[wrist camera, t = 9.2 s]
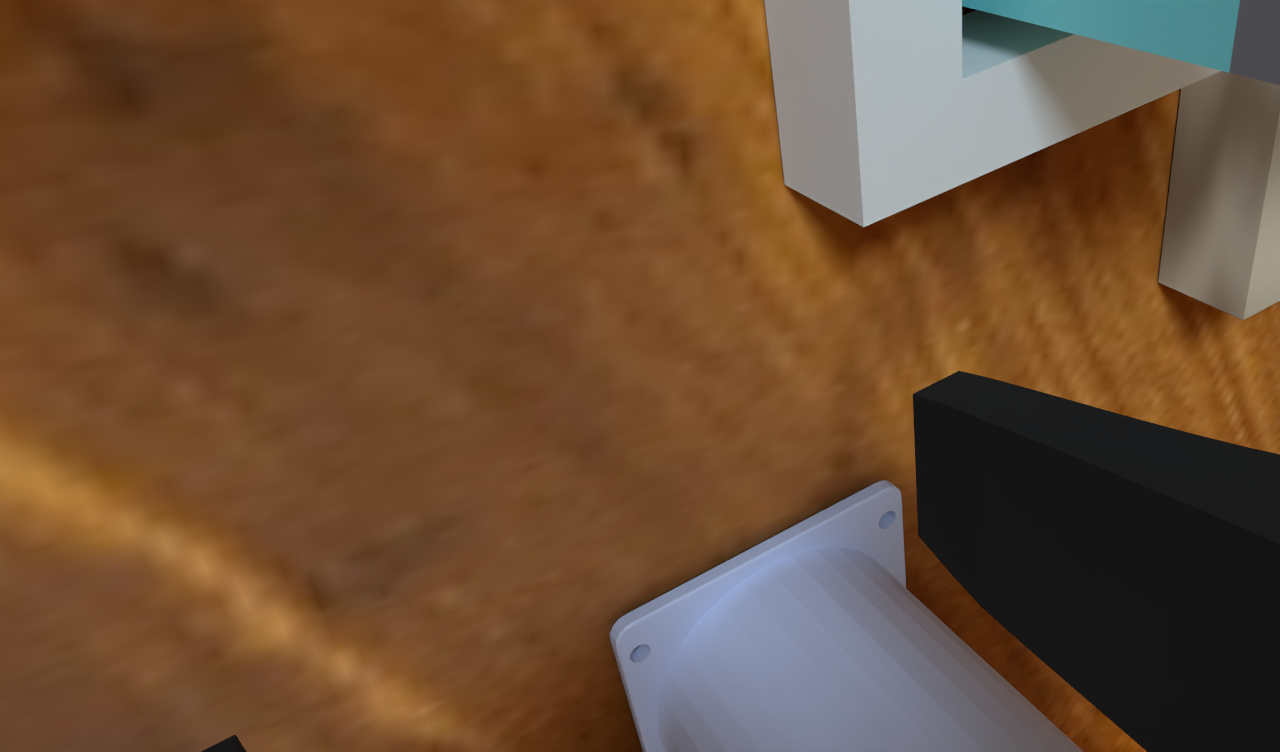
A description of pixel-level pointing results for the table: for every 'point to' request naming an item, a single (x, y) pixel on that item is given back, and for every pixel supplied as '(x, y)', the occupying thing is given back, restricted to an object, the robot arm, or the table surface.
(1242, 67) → the plug
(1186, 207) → the frame
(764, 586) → the robot arm
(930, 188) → the port block
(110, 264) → the table surface
